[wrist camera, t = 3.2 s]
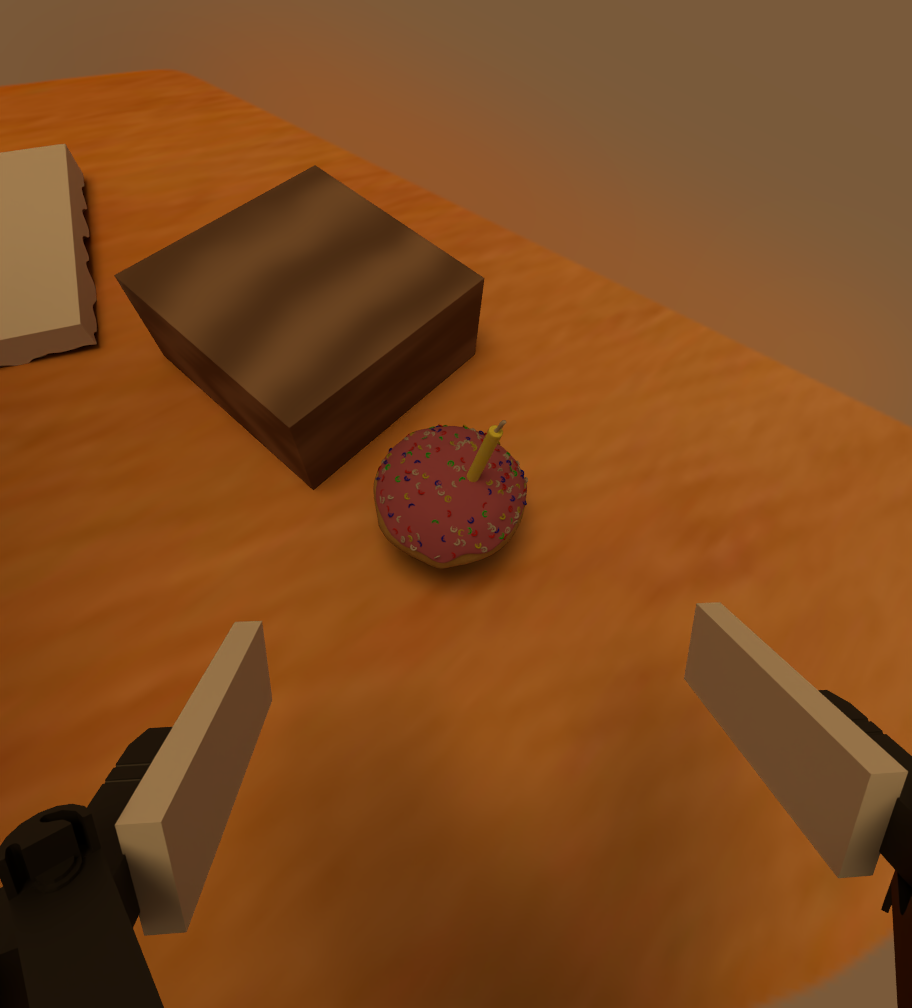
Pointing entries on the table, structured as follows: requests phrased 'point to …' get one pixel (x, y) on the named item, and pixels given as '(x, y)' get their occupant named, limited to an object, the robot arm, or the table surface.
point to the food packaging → (43, 256)
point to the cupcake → (450, 495)
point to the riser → (309, 318)
